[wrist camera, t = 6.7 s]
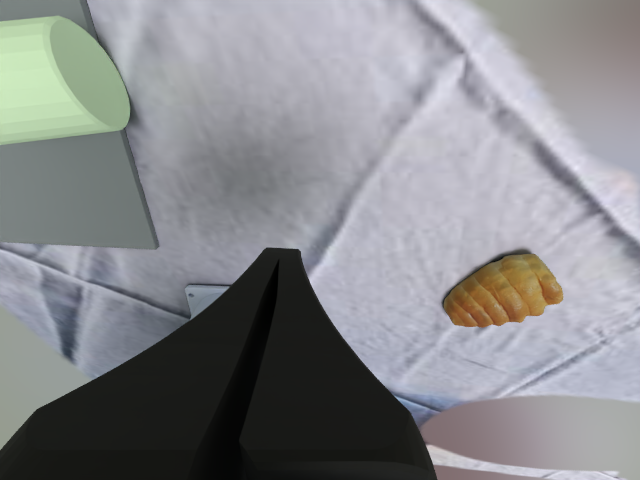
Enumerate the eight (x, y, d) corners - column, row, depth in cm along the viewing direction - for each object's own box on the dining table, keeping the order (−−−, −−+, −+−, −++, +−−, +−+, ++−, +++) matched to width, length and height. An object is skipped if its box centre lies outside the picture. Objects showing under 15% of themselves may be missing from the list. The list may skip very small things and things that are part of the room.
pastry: (454, 324, 28) (473, 354, 24) (429, 288, 25) (447, 317, 22) (542, 284, 25) (577, 312, 22) (525, 239, 22) (562, 263, 19)
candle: (143, 131, 16) (13, 147, 16) (108, 38, 14) (-41, 53, 14) (83, 129, 12) (-102, 151, 11) (19, -9, 10) (-206, 12, 9)
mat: (159, 246, 21) (156, 249, 21) (-5, 238, 20) (-12, 241, 20) (46, -133, 11) (35, -142, 11) (-291, -181, 10) (-319, -194, 10)
